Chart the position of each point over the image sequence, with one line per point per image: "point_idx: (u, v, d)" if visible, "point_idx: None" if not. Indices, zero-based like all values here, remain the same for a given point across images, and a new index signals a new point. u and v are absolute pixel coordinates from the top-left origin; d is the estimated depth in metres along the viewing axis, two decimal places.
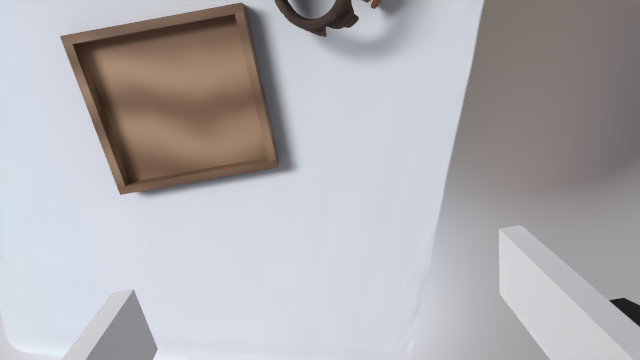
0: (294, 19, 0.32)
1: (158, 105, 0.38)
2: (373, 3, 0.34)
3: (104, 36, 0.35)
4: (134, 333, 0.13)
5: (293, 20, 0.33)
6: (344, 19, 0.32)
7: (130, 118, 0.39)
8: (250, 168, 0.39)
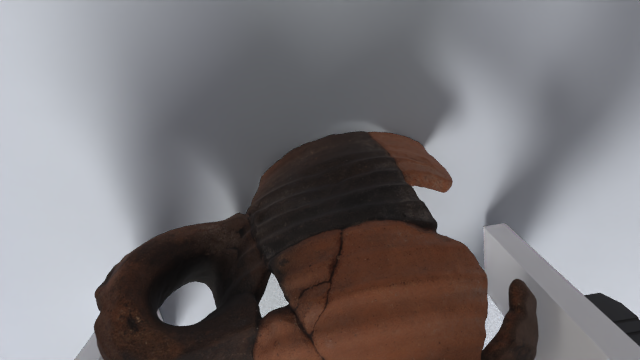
0: None
1: None
2: (441, 188, 0.11)
3: None
4: None
5: None
6: (530, 346, 0.09)
7: None
8: None
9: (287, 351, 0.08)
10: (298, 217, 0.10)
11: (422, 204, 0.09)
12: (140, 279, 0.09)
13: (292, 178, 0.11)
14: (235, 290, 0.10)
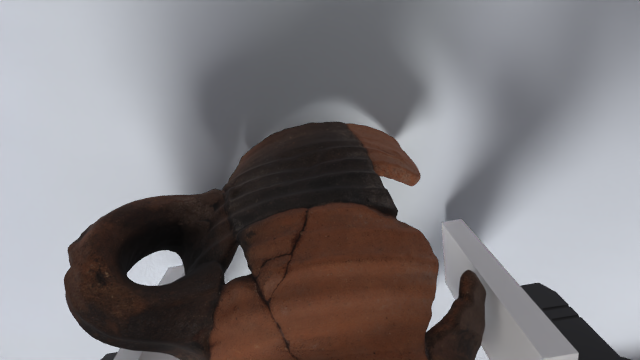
0: None
1: None
2: (409, 182, 0.12)
3: None
4: None
5: None
6: (474, 332, 0.10)
7: None
8: None
9: (245, 315, 0.09)
10: (269, 195, 0.10)
11: (386, 192, 0.10)
12: (112, 238, 0.09)
13: (269, 160, 0.11)
14: (203, 259, 0.10)
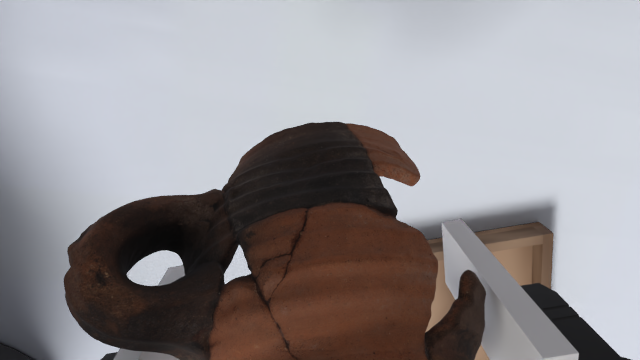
0: None
1: None
2: (409, 182, 0.12)
3: None
4: None
5: None
6: (474, 332, 0.10)
7: None
8: (547, 264, 0.31)
9: (245, 316, 0.09)
10: (269, 195, 0.10)
11: (385, 192, 0.10)
12: (112, 239, 0.09)
13: (268, 160, 0.11)
14: (203, 259, 0.10)
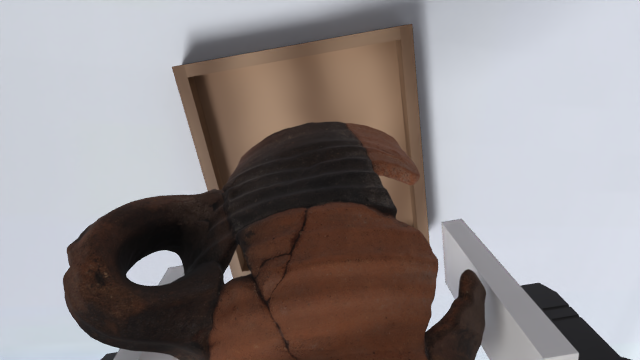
0: None
1: None
2: (408, 181, 0.12)
3: None
4: None
5: None
6: (474, 331, 0.10)
7: None
8: (410, 69, 0.25)
9: (244, 315, 0.09)
10: (268, 195, 0.10)
11: (385, 191, 0.10)
12: (111, 239, 0.09)
13: (268, 160, 0.11)
14: (203, 259, 0.10)
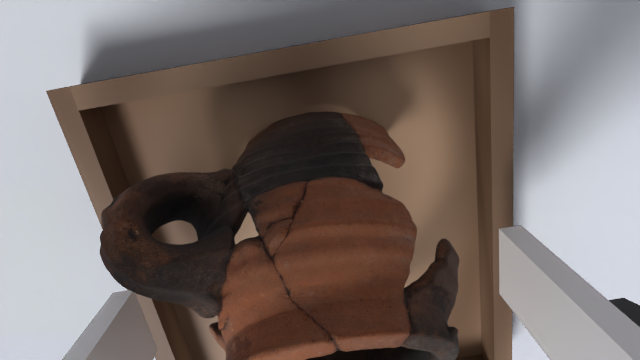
0: None
1: None
2: (395, 164, 0.13)
3: None
4: (134, 333, 0.13)
5: None
6: (447, 290, 0.12)
7: None
8: (503, 94, 0.13)
9: (253, 269, 0.10)
10: (273, 171, 0.12)
11: (373, 169, 0.11)
12: (140, 204, 0.11)
13: (273, 143, 0.13)
14: (216, 225, 0.12)
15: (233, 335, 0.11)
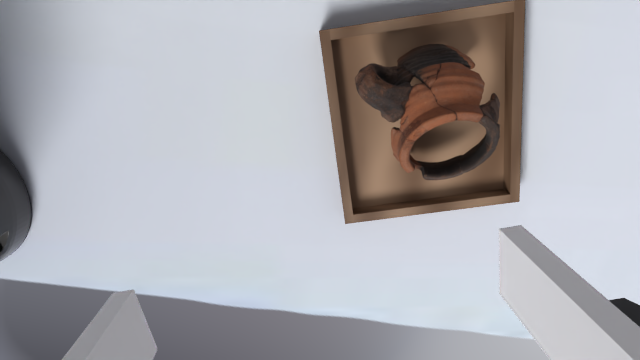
0: (476, 164, 0.30)
1: (420, 143, 0.34)
2: (471, 66, 0.30)
3: (347, 183, 0.34)
4: (134, 333, 0.13)
5: (476, 165, 0.30)
6: (495, 112, 0.28)
7: None
8: (519, 38, 0.30)
9: (422, 92, 0.27)
10: (423, 62, 0.28)
11: (466, 61, 0.28)
12: (374, 70, 0.27)
13: (417, 54, 0.30)
14: (398, 84, 0.28)
15: (408, 124, 0.28)
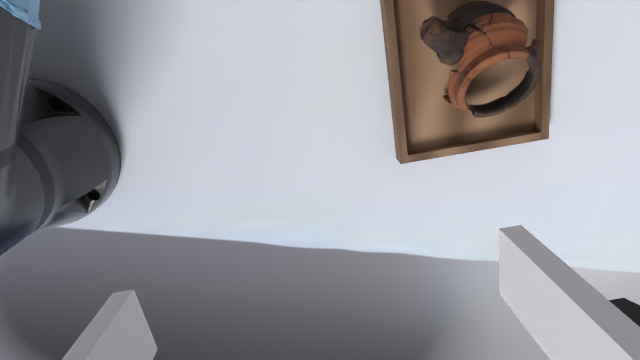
0: (518, 101, 0.35)
1: None
2: None
3: (403, 127, 0.39)
4: (134, 333, 0.13)
5: (518, 102, 0.36)
6: (536, 54, 0.34)
7: (473, 120, 0.41)
8: None
9: (478, 37, 0.32)
10: (475, 14, 0.34)
11: (511, 12, 0.33)
12: None
13: (467, 9, 0.35)
14: None
15: (466, 65, 0.33)
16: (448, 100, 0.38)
